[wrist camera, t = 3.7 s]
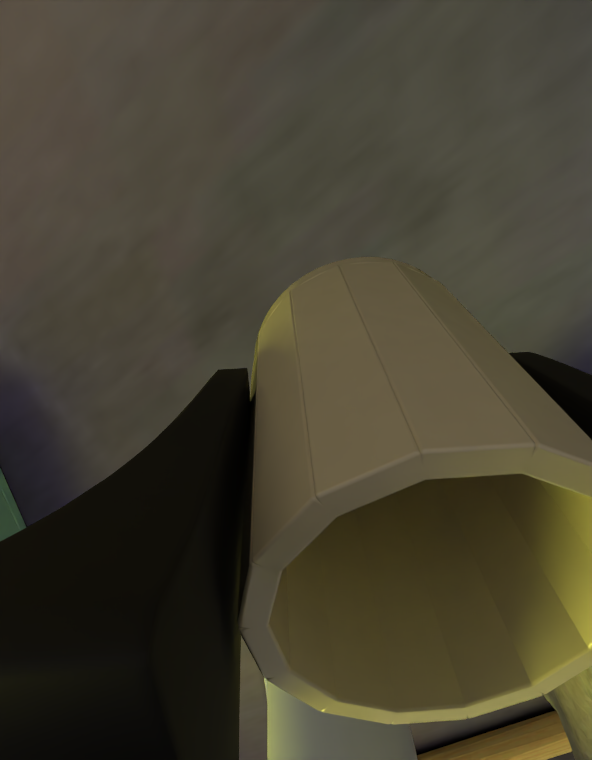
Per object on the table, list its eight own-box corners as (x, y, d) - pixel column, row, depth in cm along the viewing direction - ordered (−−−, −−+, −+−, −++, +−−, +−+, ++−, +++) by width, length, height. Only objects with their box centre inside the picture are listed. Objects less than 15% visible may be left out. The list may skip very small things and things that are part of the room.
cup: (452, 438, 14) (602, 711, 8) (260, 449, 13) (253, 736, 7) (479, 250, 11) (741, 431, 5) (242, 262, 11) (211, 463, 5)
